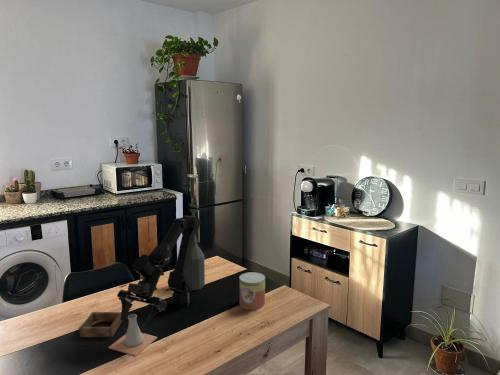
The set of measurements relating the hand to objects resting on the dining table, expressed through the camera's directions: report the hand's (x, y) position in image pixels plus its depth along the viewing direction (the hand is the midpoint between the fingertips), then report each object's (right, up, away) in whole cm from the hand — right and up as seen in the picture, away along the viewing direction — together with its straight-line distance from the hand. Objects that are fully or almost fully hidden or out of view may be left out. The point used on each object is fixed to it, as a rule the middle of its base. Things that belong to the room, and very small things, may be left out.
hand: (132, 323), depth 135 cm
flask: (0, -8, +2) cm, 8 cm away
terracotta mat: (0, -8, +2) cm, 8 cm away
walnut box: (-15, -6, +11) cm, 20 cm away
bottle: (+15, 0, +49) cm, 51 cm away
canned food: (+43, -3, +32) cm, 54 cm away
